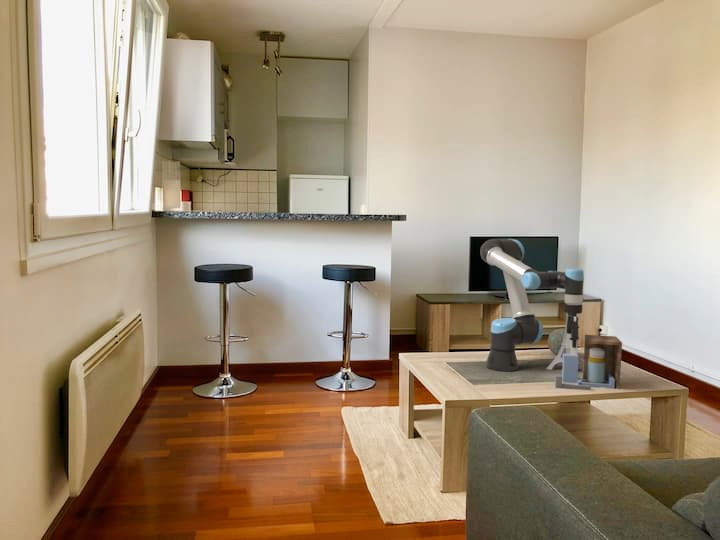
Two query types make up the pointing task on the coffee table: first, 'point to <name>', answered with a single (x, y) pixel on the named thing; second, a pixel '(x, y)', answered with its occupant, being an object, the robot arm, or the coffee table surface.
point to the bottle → (596, 366)
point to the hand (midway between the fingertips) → (571, 351)
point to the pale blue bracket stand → (572, 373)
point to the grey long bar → (569, 386)
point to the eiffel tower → (559, 357)
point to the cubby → (611, 355)
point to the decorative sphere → (556, 340)
